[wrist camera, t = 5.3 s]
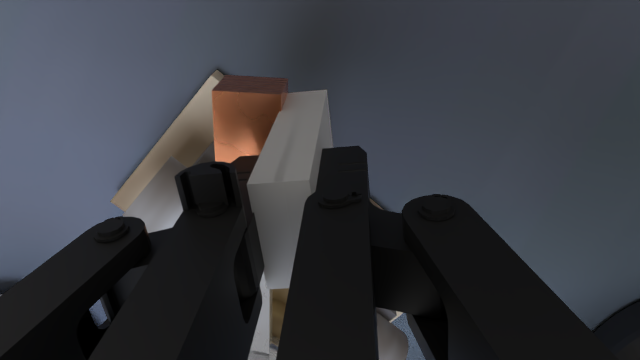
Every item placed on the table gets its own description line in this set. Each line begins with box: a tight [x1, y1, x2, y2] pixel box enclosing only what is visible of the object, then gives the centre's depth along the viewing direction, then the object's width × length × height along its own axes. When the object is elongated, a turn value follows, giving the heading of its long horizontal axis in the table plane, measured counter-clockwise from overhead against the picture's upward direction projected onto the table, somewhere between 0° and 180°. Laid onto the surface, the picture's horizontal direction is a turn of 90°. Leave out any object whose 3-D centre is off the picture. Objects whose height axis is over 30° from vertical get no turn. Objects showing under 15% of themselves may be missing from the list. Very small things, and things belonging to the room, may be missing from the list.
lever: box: [212, 75, 288, 360], centre depth 18 cm, size 14×3×2 cm, turn 177°
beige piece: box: [110, 70, 408, 360], centre depth 26 cm, size 18×10×10 cm, turn 48°
